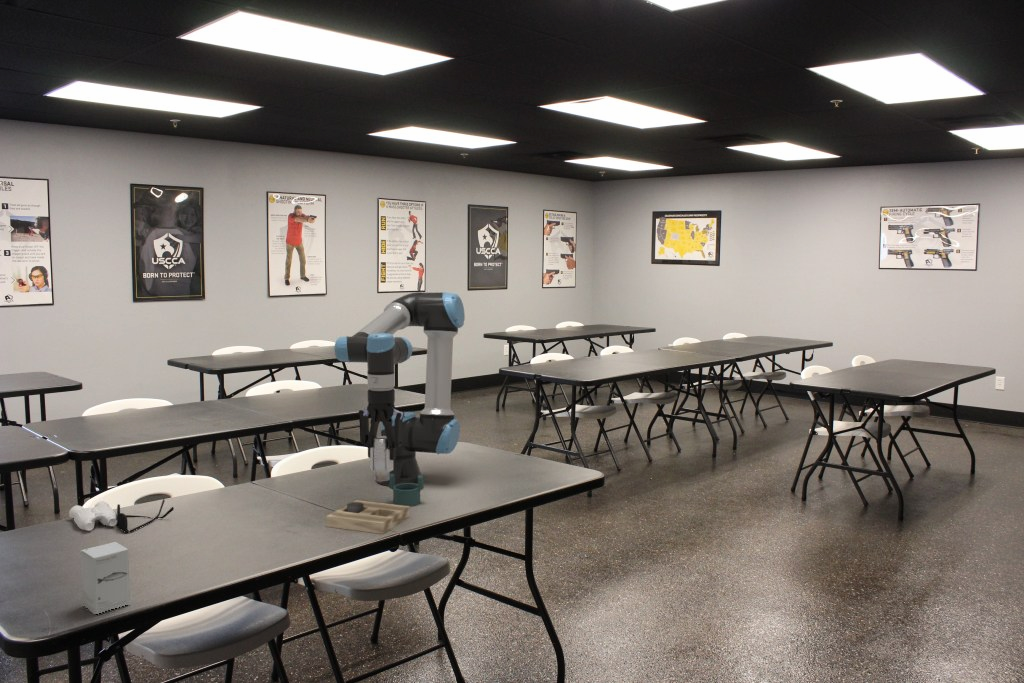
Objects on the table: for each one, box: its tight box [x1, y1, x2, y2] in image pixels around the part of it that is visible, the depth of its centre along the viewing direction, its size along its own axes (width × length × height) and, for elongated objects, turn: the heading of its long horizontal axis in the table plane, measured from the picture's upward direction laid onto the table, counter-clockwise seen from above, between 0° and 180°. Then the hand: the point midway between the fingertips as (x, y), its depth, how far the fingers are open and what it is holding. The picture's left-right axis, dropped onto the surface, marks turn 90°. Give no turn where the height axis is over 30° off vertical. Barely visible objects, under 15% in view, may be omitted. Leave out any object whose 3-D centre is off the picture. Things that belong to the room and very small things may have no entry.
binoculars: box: [68, 500, 117, 531], centre depth 219 cm, size 10×16×5 cm, turn 39°
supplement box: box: [79, 541, 131, 615], centre depth 165 cm, size 7×7×13 cm
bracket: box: [388, 474, 425, 508], centre depth 239 cm, size 9×9×9 cm
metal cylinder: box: [373, 435, 390, 482], centre depth 218 cm, size 4×4×12 cm
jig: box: [326, 499, 411, 535], centre depth 221 cm, size 16×18×4 cm
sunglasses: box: [116, 498, 174, 534], centre depth 220 cm, size 17×14×5 cm
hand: (381, 469), depth 218 cm, fingers closed on metal cylinder, 4 cm apart
